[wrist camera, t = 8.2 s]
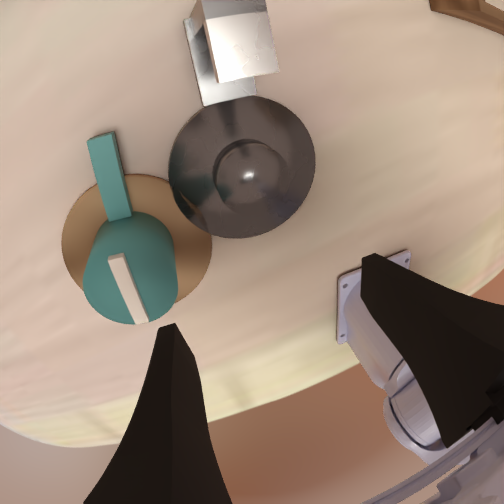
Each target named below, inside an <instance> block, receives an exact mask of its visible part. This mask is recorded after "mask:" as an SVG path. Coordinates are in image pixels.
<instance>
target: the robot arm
mask: <svg viewBox="0 0 504 504" xmlns="http://www.w3.org/2000/svg"><path fill="white" fill-rule="evenodd" d="M410 258H411V252H410V251H409V250H406V251H403V252H401V253H398V254H396V255H393V256H391V257H388V258H385V257H383V256H380V255H378V254H376V253H374V254H371V255H368V256H366V257H363V258H362V268H360V269H358V270H355V271H353V272H350V273H347V274H345V275H342V276H341V277H340V278H339V280H338V319H337V343H338V344H343V343H345V342H347V343H348V344H349V346H350V347H351V349H352V350H353V352H354V353H355V355H356V357H357V358H358V360H359V361H360V363H361V364H362V366H363V368H364V369H365V371H366V372H367V374H368V376H369V377H370V379H371V380H372V381H373V383H375V384H376V385H377V386H378V387H380V388H382V389H385V391H386V392H387V394H388V396H387V397H386V398H385V399H384V404H383V405H384V409H383V410H384V411H383V412H384V418H385V421H386V423H387V425H388V427H389V429H390V430H391V432H392V434H393V435H394V437H395V438H396V439H397V440H398V441H399V442H400V443H401V444H402V445H403V446H404V447H405V448H407V449H409V450H411V451H413V452H414V453H415V454H417V455H418V456H419V457H420V458H421V459H422V460H423V461H424V462H425V463H427V464H428V465H429V466H427V467H426V468H424V469H423V470H421V471H420V472H418V473H416V474H415V475H413V476H411V477H410V478H408V479H406V480H405V481H403V482H401V483H400V484H398V485H396V486H394V487H392V488H390V489H389V490H387V491H385V492H383V493H381V494H379V495H377V496H375V497H373V498H371V499H369V500H367V501H365V502H363V503H360V504H397V503H399V502H401V501H402V500H404V499H406V498H407V497H409V496H411V495H413V494H414V493H416V492H418V491H419V490H421V489H422V488H424V487H425V486H427V485H429V484H430V483H432V482H433V481H435V480H436V479H438V478H439V477H441V476H442V475H443V474H445V473H446V472H448V471H449V470H450V469H452V468H453V467H454V466H456V465H460V464H464V465H463V466H461V467H460V468H458V469H457V470H455V471H454V472H452V473H451V474H450V475H448V476H447V477H446V478H445V479H443V480H442V481H441V482H439V483H438V484H437V488H438V490H439V492H438V493H437V494H435V495H434V496H432V497H430V498H429V499H427V500H425V501H424V502H422V503H420V504H504V305H499V304H495V303H491V302H487V301H483V300H480V299H477V298H473V297H471V296H468V295H465V294H462V293H459V292H457V291H454V290H452V289H449V288H447V287H444V286H442V285H440V284H438V283H435V282H433V281H431V280H429V279H427V278H425V277H423V276H421V275H418V274H416V273H414V272H412V271H410V270H409V264H410ZM83 504H232V502H231V499H230V497H229V494H228V491H227V489H226V486H225V483H224V481H223V478H222V475H221V472H220V469H219V466H218V463H217V460H216V457H215V454H214V451H213V447H212V444H211V440H210V435H209V431H208V424H207V418H206V412H205V406H204V399H203V393H202V386H201V380H200V376H199V372H198V368H197V364H196V360H195V357H194V355H193V353H192V351H191V350H190V348H189V346H188V345H187V343H186V341H185V339H184V338H183V336H182V334H181V332H180V331H179V329H178V327H177V325H176V324H175V323H173V324H170V325H166V326H163V327H160V328H159V329H158V332H157V336H156V340H155V344H154V348H153V352H152V356H151V360H150V364H149V367H148V370H147V374H146V377H145V381H144V384H143V387H142V390H141V393H140V396H139V399H138V402H137V405H136V408H135V410H134V413H133V415H132V418H131V420H130V423H129V425H128V428H127V430H126V432H125V434H124V436H123V438H122V440H121V443H120V445H119V447H118V449H117V451H116V452H115V454H114V456H113V458H112V460H111V462H110V463H109V465H108V466H107V468H106V470H105V472H104V473H103V475H102V477H101V478H100V480H99V481H98V483H97V484H96V485H95V487H94V488H93V490H92V492H91V493H90V494H89V495H88V497H87V498H86V499H85V501H84V502H83Z"/></svg>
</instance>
